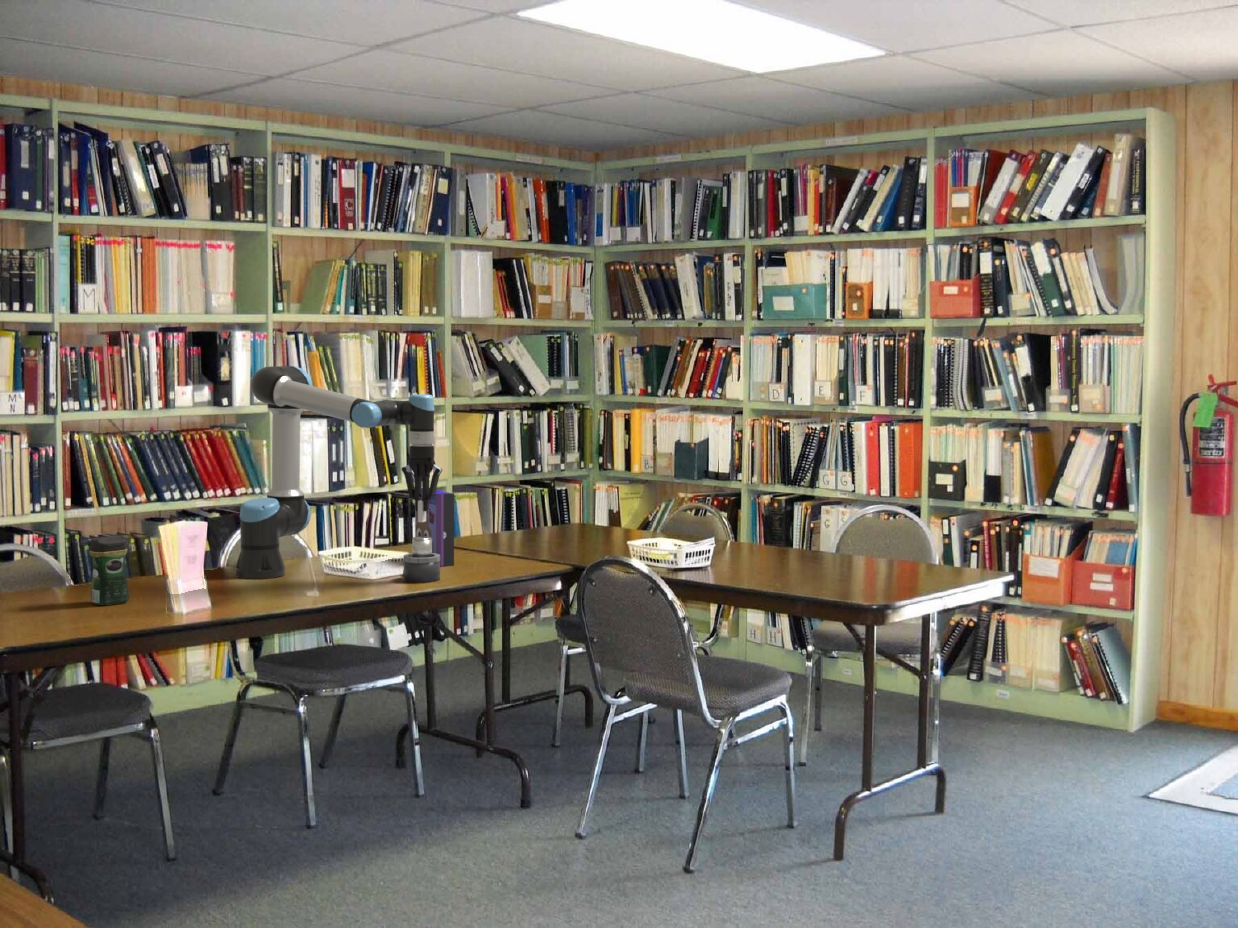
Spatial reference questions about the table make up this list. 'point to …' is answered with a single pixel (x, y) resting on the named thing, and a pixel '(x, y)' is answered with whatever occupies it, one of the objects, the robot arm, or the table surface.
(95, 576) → the coffee jar
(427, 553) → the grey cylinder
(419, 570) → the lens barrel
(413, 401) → the robot arm
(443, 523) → the cereal box
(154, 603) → the table surface
